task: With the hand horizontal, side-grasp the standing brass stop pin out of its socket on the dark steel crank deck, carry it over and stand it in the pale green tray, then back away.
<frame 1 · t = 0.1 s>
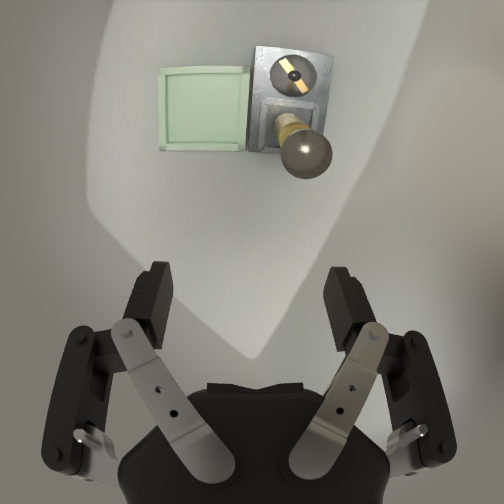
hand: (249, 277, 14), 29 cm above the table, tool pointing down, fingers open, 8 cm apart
crank deck: (288, 100, 33), on the table
stop pin: (287, 126, 34), point 2 cm above the table, touching crank deck
tray: (203, 106, 34), on the table
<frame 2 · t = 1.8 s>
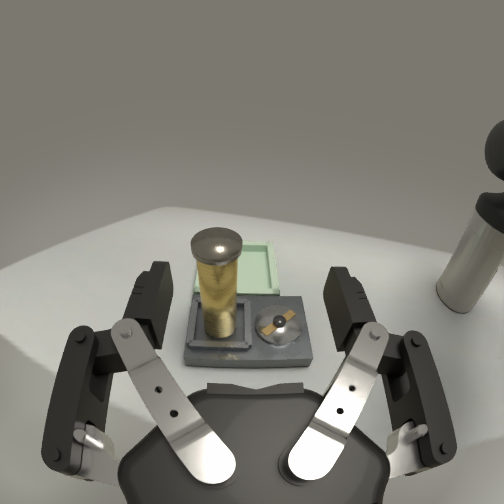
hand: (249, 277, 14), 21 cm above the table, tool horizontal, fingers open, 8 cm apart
crank deck: (247, 334, 35), on the table
stop pin: (220, 324, 34), point 2 cm above the table, touching crank deck
tray: (237, 273, 44), on the table
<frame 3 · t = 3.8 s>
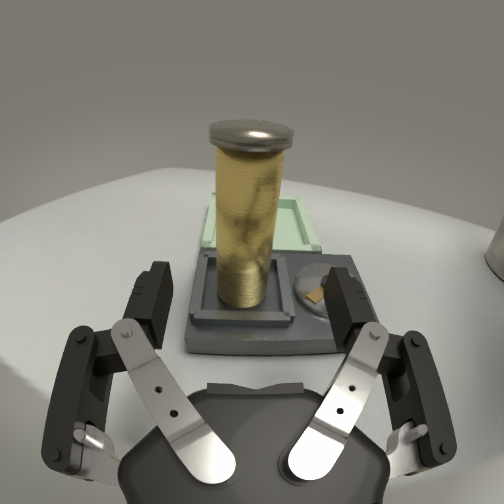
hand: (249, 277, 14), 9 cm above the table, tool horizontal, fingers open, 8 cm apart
crank deck: (281, 306, 24), on the table
stop pin: (241, 289, 22), point 2 cm above the table, touching crank deck
tray: (258, 231, 33), on the table
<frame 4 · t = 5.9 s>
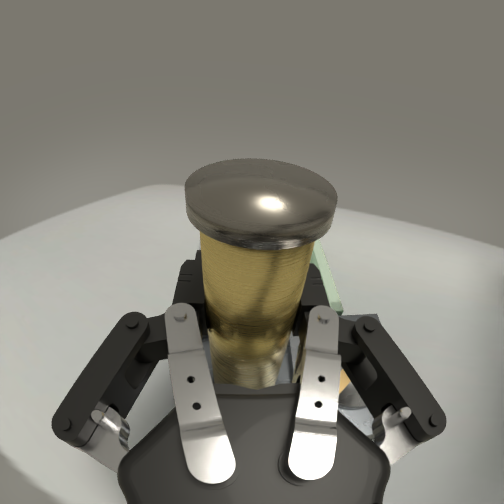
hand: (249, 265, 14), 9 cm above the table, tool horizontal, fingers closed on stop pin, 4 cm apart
crank deck: (293, 386, 18), on the table
stop pin: (244, 375, 16), point 2 cm above the table, touching crank deck, gripper
tray: (263, 277, 27), on the table
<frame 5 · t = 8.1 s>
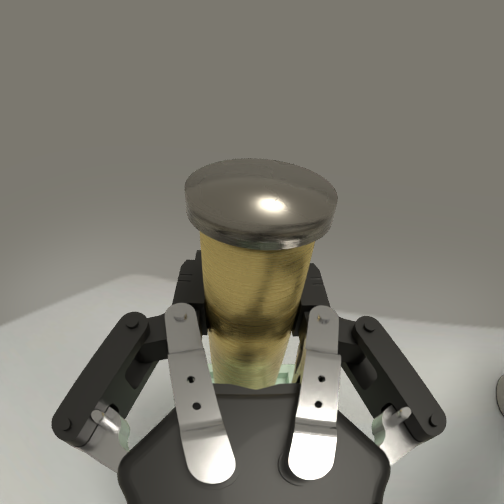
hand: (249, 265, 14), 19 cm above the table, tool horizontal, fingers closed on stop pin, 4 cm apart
stop pin: (244, 375, 16), point 12 cm above the table, touching gripper
tray: (239, 422, 24), on the table
when the fingers open (9 cm above the table, at t = 10.3 s): stop pin drops 1 cm, resting on tray.
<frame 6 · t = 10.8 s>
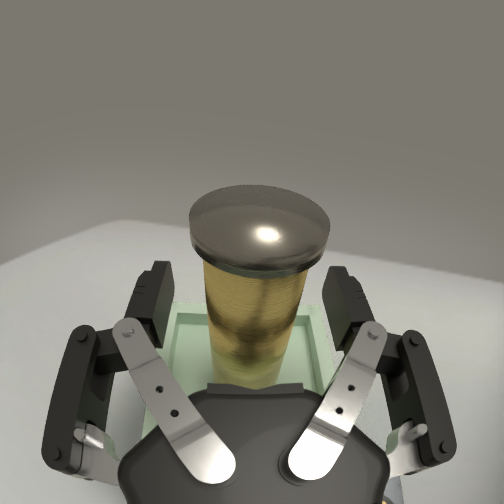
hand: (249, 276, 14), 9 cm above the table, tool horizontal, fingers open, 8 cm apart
stop pin: (244, 384, 17), point 1 cm above the table, touching tray
tray: (243, 387, 17), on the table
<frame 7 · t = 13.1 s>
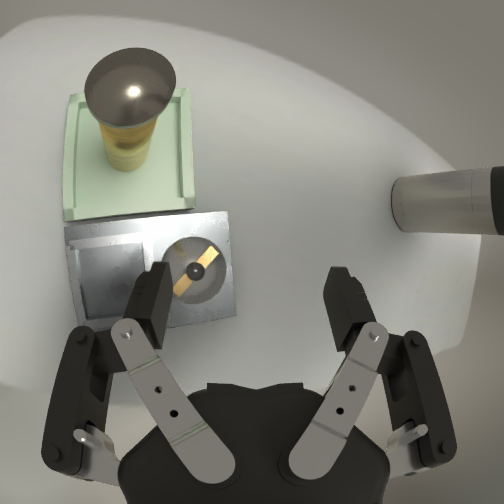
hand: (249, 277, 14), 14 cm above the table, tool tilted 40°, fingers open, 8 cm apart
crank deck: (150, 272, 25), on the table
stop pin: (127, 151, 22), point 1 cm above the table, touching tray
tray: (127, 152, 23), on the table
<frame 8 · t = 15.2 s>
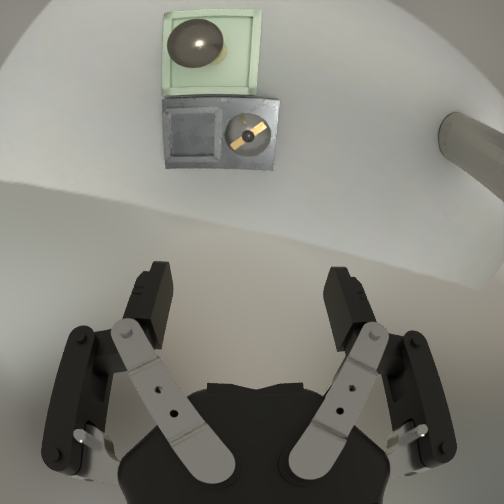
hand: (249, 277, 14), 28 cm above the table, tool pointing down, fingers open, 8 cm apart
crank deck: (220, 130, 35), on the table
stop pin: (211, 51, 28), point 1 cm above the table, touching tray
tray: (211, 51, 28), on the table
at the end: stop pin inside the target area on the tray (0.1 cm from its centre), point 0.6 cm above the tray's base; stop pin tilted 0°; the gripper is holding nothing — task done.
